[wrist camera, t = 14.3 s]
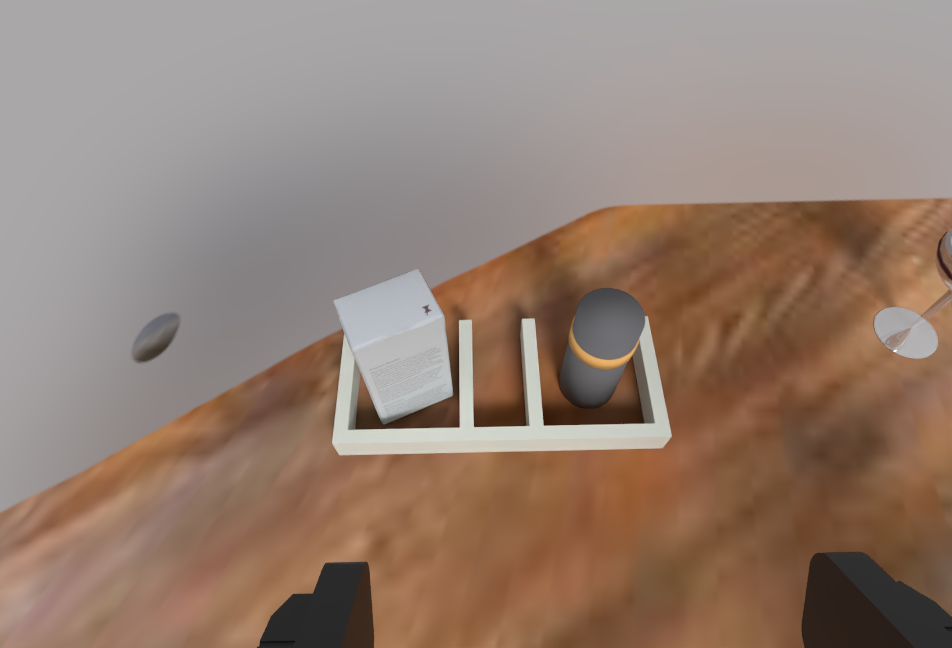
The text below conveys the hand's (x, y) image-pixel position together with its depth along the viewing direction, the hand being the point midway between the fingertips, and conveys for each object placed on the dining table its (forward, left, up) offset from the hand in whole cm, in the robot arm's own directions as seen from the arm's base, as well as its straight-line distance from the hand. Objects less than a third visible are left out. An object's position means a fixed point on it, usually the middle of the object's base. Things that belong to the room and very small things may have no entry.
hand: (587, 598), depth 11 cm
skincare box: (+7, -18, -31) cm, 37 cm away
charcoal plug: (-7, -19, -31) cm, 37 cm away
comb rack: (0, -19, -31) cm, 36 cm away
